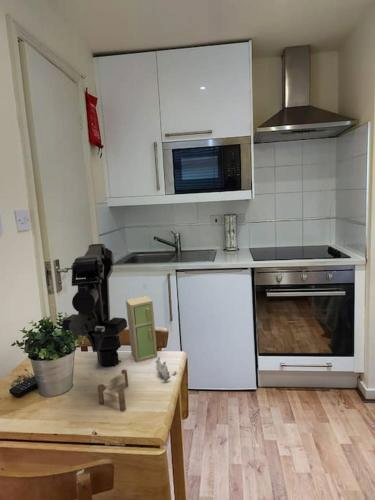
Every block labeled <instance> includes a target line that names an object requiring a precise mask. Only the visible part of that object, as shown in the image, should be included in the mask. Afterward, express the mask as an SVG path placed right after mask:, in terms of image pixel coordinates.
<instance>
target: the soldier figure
mask: <svg viewBox="0 0 375 500" xmlns="http://www.w3.org/2000/svg"><path fill="white" fill-rule="evenodd" d="M160 359H161V357H158V356H157V358H156V361H155V364H156V366H155V367H156V370H157V373H158V374H159V375H160V378H161V379H163V380H164V381H165V382H167V381H169V380H168V379H169V378H171V376H175V375H176V374H177V370H175V371H174V372H173V373H172V374H170V371H168V366H167V365H166V364H167V362H166V361H163V363H162V362H161V361H160Z"/></svg>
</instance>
